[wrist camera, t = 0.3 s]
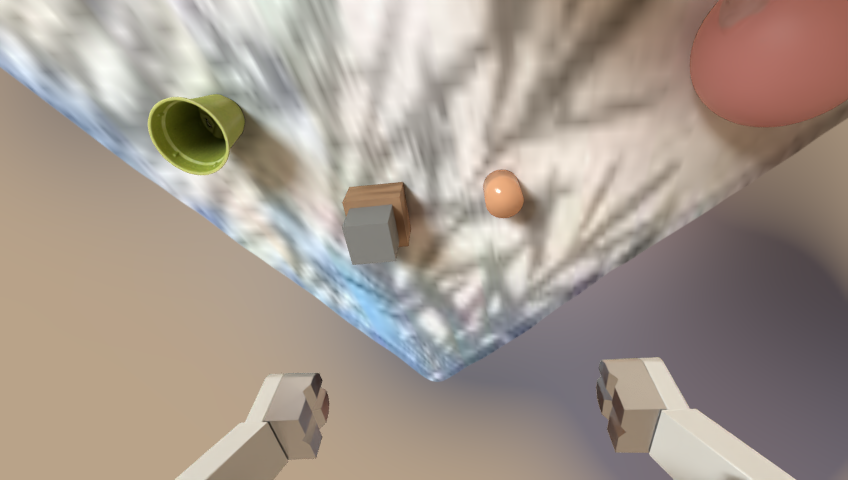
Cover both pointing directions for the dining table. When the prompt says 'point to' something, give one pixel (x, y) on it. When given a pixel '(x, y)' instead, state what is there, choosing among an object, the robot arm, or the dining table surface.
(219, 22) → the dining table surface
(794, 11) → the balloon
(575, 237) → the dining table surface
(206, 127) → the plant pot
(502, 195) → the terracotta cylinder
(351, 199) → the tower base
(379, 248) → the tower top
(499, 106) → the dining table surface
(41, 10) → the dining table surface
